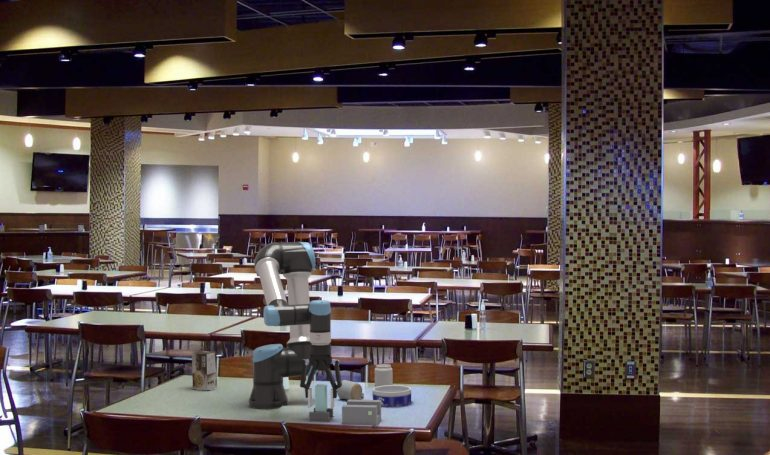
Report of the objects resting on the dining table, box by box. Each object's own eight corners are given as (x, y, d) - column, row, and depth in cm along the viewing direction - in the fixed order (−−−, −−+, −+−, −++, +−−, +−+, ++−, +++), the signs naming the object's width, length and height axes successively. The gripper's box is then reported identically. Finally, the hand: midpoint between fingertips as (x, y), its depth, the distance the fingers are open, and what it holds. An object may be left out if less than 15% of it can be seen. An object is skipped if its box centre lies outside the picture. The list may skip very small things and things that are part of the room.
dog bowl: (366, 406, 329) (366, 390, 329) (381, 398, 343) (380, 383, 343) (403, 409, 324) (403, 393, 324) (416, 401, 338) (416, 385, 338)
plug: (315, 419, 302) (314, 386, 302) (317, 417, 306) (317, 384, 306) (325, 419, 302) (324, 386, 302) (327, 417, 305) (327, 384, 305)
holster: (307, 424, 300) (307, 412, 300) (313, 418, 309) (313, 407, 309) (329, 424, 299) (329, 413, 299) (334, 418, 308) (334, 407, 308)
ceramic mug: (352, 402, 335) (352, 383, 335) (336, 400, 340) (336, 381, 340) (368, 398, 344) (368, 379, 344) (353, 396, 349) (353, 377, 349)
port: (341, 426, 295) (341, 406, 295) (348, 418, 308) (348, 399, 307) (375, 427, 293) (375, 407, 293) (381, 419, 306) (381, 400, 306)
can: (372, 394, 350) (371, 365, 350) (378, 391, 357) (378, 363, 357) (388, 396, 347) (388, 366, 347) (395, 392, 354) (395, 364, 354)
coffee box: (217, 388, 367) (217, 351, 367) (207, 391, 362) (206, 353, 362) (202, 387, 372) (202, 350, 372) (191, 389, 366) (191, 352, 366)
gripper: (290, 344, 302) (290, 408, 302) (346, 345, 299) (347, 409, 299) (295, 341, 309) (296, 404, 309) (350, 342, 306) (351, 405, 306)
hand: (321, 407), depth 304 cm, fingers open, 8 cm apart
